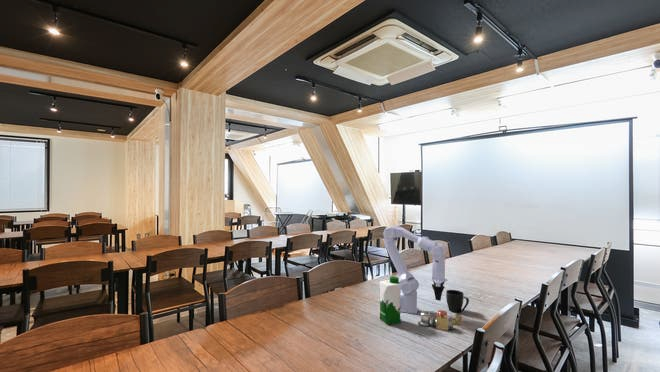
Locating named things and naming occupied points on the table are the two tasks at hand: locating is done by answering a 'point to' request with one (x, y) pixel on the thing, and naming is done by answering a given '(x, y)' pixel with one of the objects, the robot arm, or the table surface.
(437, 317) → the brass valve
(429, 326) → the pad
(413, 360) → the table surface
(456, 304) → the mug
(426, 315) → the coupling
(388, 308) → the milk carton
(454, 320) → the elbow
